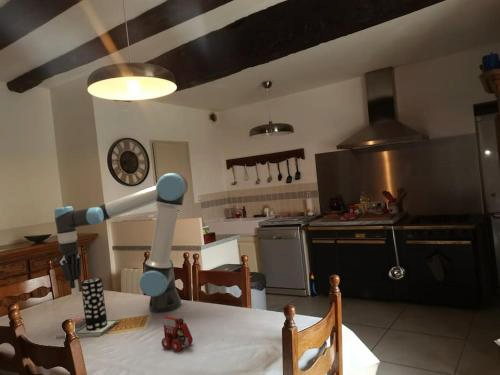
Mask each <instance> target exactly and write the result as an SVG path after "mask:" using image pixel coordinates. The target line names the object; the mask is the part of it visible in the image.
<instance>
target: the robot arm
mask: <svg viewBox="0 0 500 375" xmlns="http://www.w3.org/2000/svg"><path fill="white" fill-rule="evenodd" d="M188 186H189V185H188V181H187V179H186V178H185V176H183V175H181V174H178V173H175V172H169V173H165V174H163V175H162V176H160V178H159V179H158V180H157V182H156V184H155V185H153V186H150V187H148V188H145V189H142V190H139V191H137V192H133V193H130V194H128V195H126V196H125V195H124V196H123V197H121V198H117V199H114V200H112V201H109V202H107V203H106V202H105V203H104V204H103V203H102V204H101V205H98V206H94V207H89V208H80V209H74V207H73V206H71V205H69V206H62V207H57V208H55V209H54V210H53V211H54V222H55V226H56V233H57V240H58V242H57V243H59V244H58V249H59V253H61V258H62V259H61V260H59V261H58V265H59V266H60V268H61V271H62V274H63V276H64V280H65V281H66V282H69V286H70V287H69V288H70V291H71V296H78V295H80V286H79V284H80V283H79V280H80V279H81V276H82V257H83V255H82V253H80V254H79V252H78V249H79V248H80V247H79V241H77V240H78V233H77V228H79V227H87V226H95V225H100V224H102V223H103V222H106V221H107V220H110V219H112V218H116V217H119V216H120V215H125V214H127V213H130V212H132V211H135V210H138V209H140V208H143V207H147V206H149V205H151V204H154V203H156V204H157V205H158V210H157V214H156V218H155V219H156V220H155V224H154V226H155V227H154V232H153V236H152V242H151V247H150V248H151V249H150V253H149V254H150V255H149V258H148V259H147V260H146V261H145V263H144V266H143V267H144V269H143V273H142V275H141V276H140V279H139V287H140V290H141V291H142V293H143V294H145V295H146V296H149V297H150V298H149V303H148V309H149V312H152V313H164V312H168V311H169V312H170V311H172V310H176V309H178V308H180V306H181V305H182V299H181V297H180V295H179V293H178V290H177V289H176V281H175V280H176V279H175V278H176V277H175V271H174V261H173V259H172V258H170V257H171V254H172V253H171V251H172V246H173V240H174V235H175V229H176V223H177V217H178V213H179V209H180V208H181V207H182V206H183V204H184V198H185V195H186V193H187V192H188Z"/></svg>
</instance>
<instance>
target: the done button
mask: <svg viewBox="0 0 500 375" xmlns="http://www.w3.org/2000/svg"><path fill="white" fill-rule="evenodd" d="M83 318H84V317H80V316H79V317H75V318H74V319H73V320H74V322H75V323H80V322H81V321H83Z"/></svg>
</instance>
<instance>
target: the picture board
mask: <svg viewBox="0 0 500 375" xmlns="http://www.w3.org/2000/svg"><path fill="white" fill-rule="evenodd" d="M82 318H83V321H81V322H80V323H75V333H76V334H77V336H78V337H77V338H93V337H94V338H95V337H97V338H98V337H101V336H103V335H104V334H105V333H107V332H108V331H109V330H110V329H111V328H110V327H111V326H112V325H114V324H115V323H116V322H117V321H119V322H120V319H107V326H106V327H104V328H102V329H99V330H94V331H88V330H86V322H85V317H82ZM114 326H115V325H114ZM109 328H110V329H109ZM55 339H66V338H65V332H64V330H63V331H62V332H60V333H58V334H57V335H55Z"/></svg>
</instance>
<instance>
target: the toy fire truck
mask: <svg viewBox="0 0 500 375" xmlns="http://www.w3.org/2000/svg"><path fill="white" fill-rule="evenodd" d="M161 320H162V322H161V323H162V326H163V333H164V337H163V338H162V339H161V346H162V348H163V349H164V350H169V349H172V350H173V351H174V352H176V353H178V352H180V351H182V349H183V347H184V346H186V347H189V346H190V345H192V343H193V341H194V340H193V337H192V334H191V331H190V328H189V327H188V325H187V323H186V322H185V320H184V318H182V317H180V318H177V317H173V316H168V315H166V316H165V315H164V316H163V317H162V319H161Z"/></svg>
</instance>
